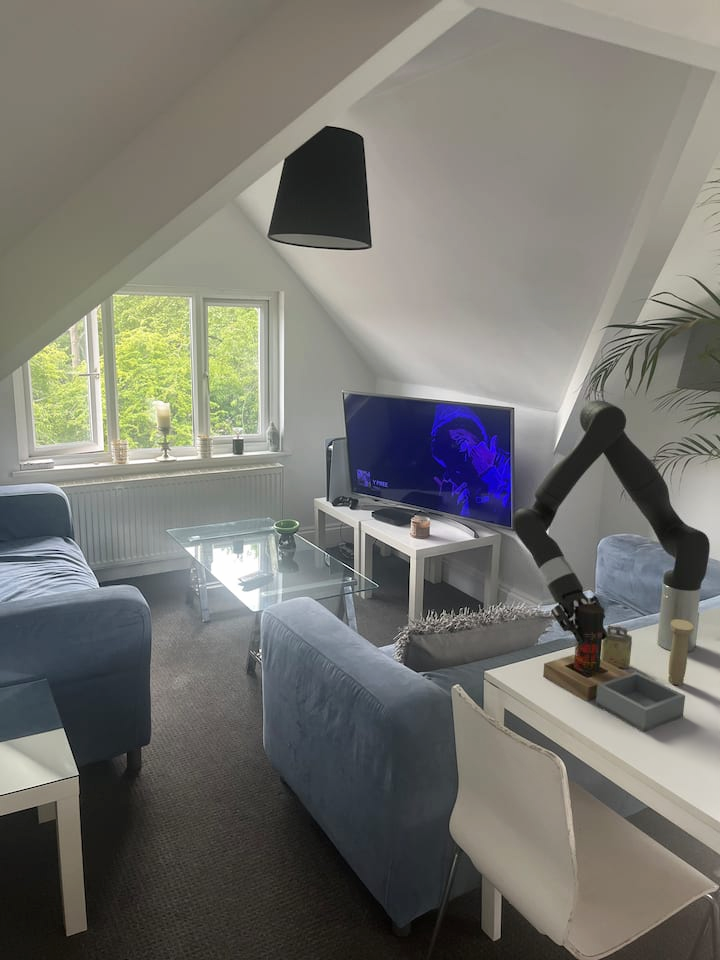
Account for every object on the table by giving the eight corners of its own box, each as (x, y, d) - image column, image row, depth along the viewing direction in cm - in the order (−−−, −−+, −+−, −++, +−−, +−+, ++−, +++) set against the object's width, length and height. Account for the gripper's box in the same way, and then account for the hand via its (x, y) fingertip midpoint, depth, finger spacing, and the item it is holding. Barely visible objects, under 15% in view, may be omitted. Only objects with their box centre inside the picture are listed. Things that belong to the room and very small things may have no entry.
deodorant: (568, 663, 174) (572, 605, 171) (588, 659, 177) (592, 602, 174) (585, 674, 169) (589, 614, 166) (605, 669, 171) (609, 611, 168)
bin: (634, 691, 169) (636, 671, 168) (682, 716, 158) (685, 695, 157) (595, 704, 163) (597, 684, 162) (643, 732, 152) (646, 710, 151)
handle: (685, 678, 176) (692, 621, 173) (687, 690, 170) (693, 631, 167) (664, 675, 177) (670, 618, 174) (665, 686, 172) (671, 627, 169)
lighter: (630, 664, 183) (633, 627, 181) (629, 670, 180) (632, 632, 178) (600, 659, 186) (604, 622, 184) (599, 664, 183) (602, 628, 181)
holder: (583, 664, 183) (584, 651, 182) (628, 687, 171) (629, 673, 170) (543, 676, 176) (544, 663, 175) (587, 701, 164) (588, 687, 163)
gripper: (547, 577, 171) (582, 641, 164) (590, 567, 178) (625, 628, 171) (530, 591, 177) (563, 654, 169) (572, 581, 184) (606, 641, 176)
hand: (594, 641), depth 170 cm, fingers closed on deodorant, 6 cm apart
